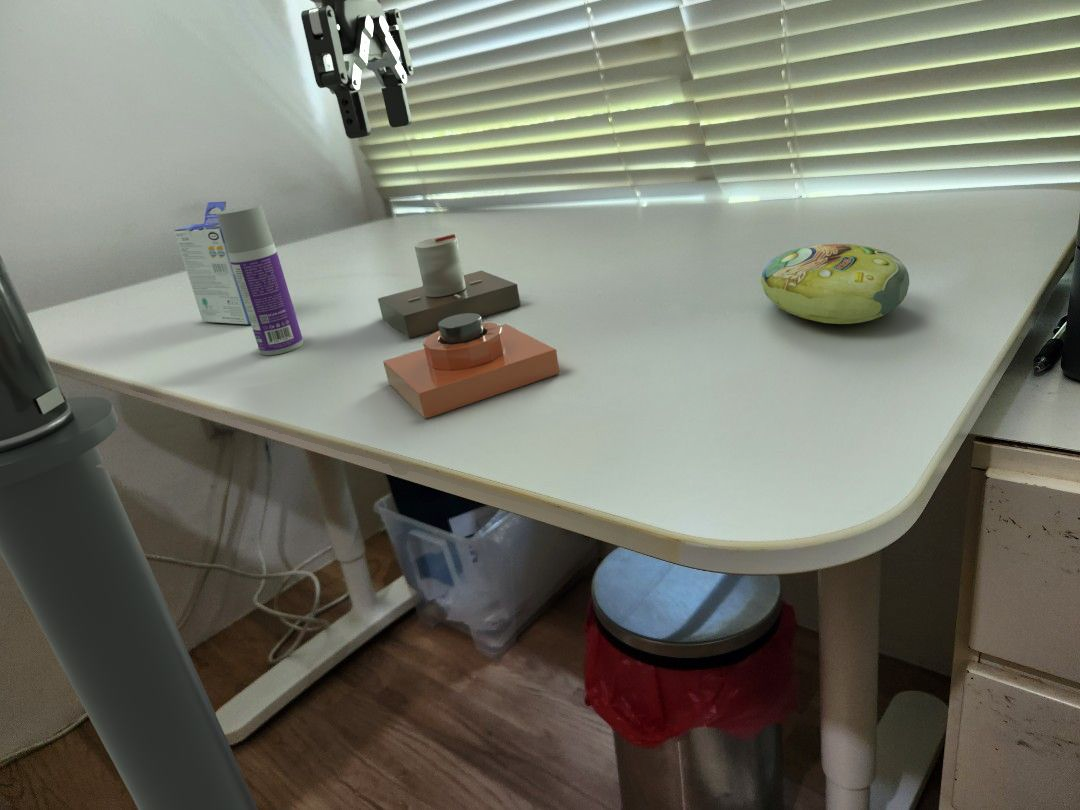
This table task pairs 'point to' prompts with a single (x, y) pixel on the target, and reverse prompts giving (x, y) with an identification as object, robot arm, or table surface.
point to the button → (461, 328)
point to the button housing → (469, 369)
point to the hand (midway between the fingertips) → (381, 131)
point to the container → (260, 279)
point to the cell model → (836, 283)
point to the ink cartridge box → (211, 270)
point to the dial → (440, 266)
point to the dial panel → (448, 304)
